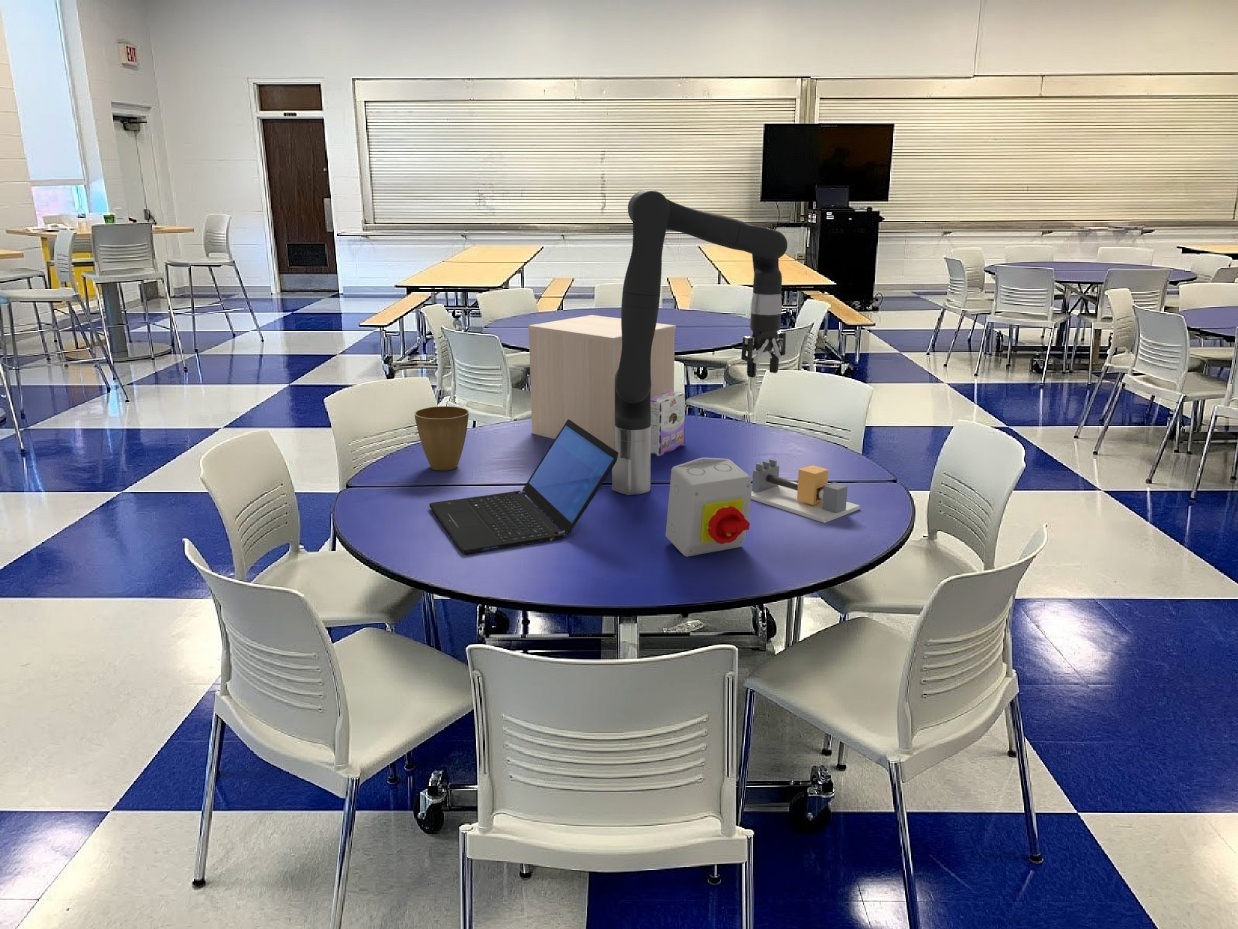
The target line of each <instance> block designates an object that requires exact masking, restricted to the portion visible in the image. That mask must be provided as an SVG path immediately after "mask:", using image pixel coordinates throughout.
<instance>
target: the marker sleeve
mask: <svg viewBox="0 0 1238 929" xmlns="http://www.w3.org/2000/svg"><path fill="white" fill-rule="evenodd" d="M797 475H798V476H797V483H798V490H797V500H798V501H801V502H805V503H808V504H811V505H815V504H818V503H821V502H823V499H820V498H819V497H816V494H817V489H821V490H822V489H824V486H825V485H828V484H829V483H828V482H829V480H828V479H829V469H828V468H825V467H820V466H817V465H813V464H812V465H808V466H804V467H801V468H798V474H797Z"/></svg>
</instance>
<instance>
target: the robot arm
mask: <svg viewBox="0 0 1238 929" xmlns="http://www.w3.org/2000/svg"><path fill="white" fill-rule="evenodd" d="M627 213H628V217H629V218H630V220H631V222H632V246H631V247H632V248H631V253H630V257H629V258H630V259H629V261H628V264H627V268H626V273H625V276H624V281H623V286H622V296H621V307H620V312H621V313H620V316H621V317H620V319H621V330H622V351H621V358H620V363H619V369H618V370H617V372H616V374H615V451H617V452H618V453H619V454H618V458H617V461H616V463H615V465H614V466H613V468H612V469H611V478H612V479H611V482H612V483H611V484H612V485H611V490H612V491H614V492H618V493H620V494H622V495H625V496H630V495H631V496H632V495H642V494H646V493H648V492H650V490H651V468H652V467H651V456H652V454H651V349H652V342H653V338H654V333H655V328H656V323H658V317H659V316H658V315H659V310H660V309H659V308H660V301H661V300H660V299H661V288H662V286H661V285H662V269H663V267H662V266H663V262H662V259H663V249H664V243H665V237H666V233H667V230H668V231H674V232H678V233H682V234H685V235H687V236H691V237H693V238H696V239H699V240H702V241H705V242H708V243H711V244H713V245H717V246H720V247H722V248H723V247H724V248H728V249H731V250H736V251H741V252H744V253H745V252H746V253H748V254H751V255H752V256H751V257H752V258H751V259H752V266H753V268H752V269H753V281H752V286H753V287H752V298H751V304H750V322H749V324H750V325H749V329H750V330H751V331H752V334H751V336H745V335H744V336H743V338H742V344H741V356H740V357H741V360H742V361H744V362H746V376H747V377H749V378H752V379H754V378H756V376H757V375H756V374H757V361H758V359H759V357H761V356H762V354H763V353H766V352H768V354H769V356H770V358H769V373H771V374H777V373H778V371H779V365H780V364H779V363H780V362H779V361H780V359H781V358H782V356H785V355H786V342H787V341H786V339H787V333H786V332H784V331H780V330H781V322H782V321H781V318H782V305H783V304H782V301H783V300H782V287H783V286H782V285H783V284H782V283H783V275H782V271H780V267H779V264H780V263H779V260H780V259H781V257H783V256H784V255H785V253H786V252H787V250H788V240H787V238H786V236H785V235H784V234H783V233H782V232H781V231H778V230H775V229H771V228H767V227H762V226H759V225H753V224H751V223H748V222H745V221H743V220H740V219H738V218H737V219H736V218H733V217H729V216H727V215H722V214H717V213H715V212H709V211H705V210H700V209H696V208H692V207H689V206H685V205H683V204H679V203H677V202H674V201H672V200H671V199H668V198H667V197H666V196H665V195H664V194H663V193H661V192H660V191H657V190H655V189H641V190H639V191H637V192H635V193H634V194H633V195H632V196H631V198H630V199H629V201H628V204H627Z"/></svg>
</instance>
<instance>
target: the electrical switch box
mask: <svg viewBox="0 0 1238 929" xmlns="http://www.w3.org/2000/svg"><path fill="white" fill-rule="evenodd" d="M751 478H752V477H751V476H750V475H749V474H748V473H747V472H746V471H745V470H743V469H742V468H741V467H739V465H737V464H736V463H734V462H733V461H732V460H730V459H729V458H718V457H717V458H716V457H700V458H696V459H693V460H690V461H687V462H684V463H680V464H678V465H674V466H672V468H671V472H670V481H669V483H670V484H669V493H668V503H667V505H668V506H667V515H666V524H665V526H666V527H665V537H666V539H668V540H669V541H670V543H672V545H673V546H674V547H675V548H676V549H677V550H678V551H679V552H680V554H682V555H683V556H684V557H686V558H688V557H693V556H698V555H703V554H710V553H715V552H720V551H725V550H726V551H727V550H731V549H738V548H741V547H742V545H743V543H744V541H745V539H746V536H747V531H748V530H750V525H751V523H750V522H749V515H750V510H751V509H750V507H751V502H752V501H751V500H752V499H751V493H752V480H751Z"/></svg>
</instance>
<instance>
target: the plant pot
mask: <svg viewBox="0 0 1238 929" xmlns="http://www.w3.org/2000/svg"><path fill="white" fill-rule="evenodd" d="M469 414H470V411H469V409H467V408H464V407H460V406H450V405H446V406H445V405H442V406H430V407H424V408H420V409H418V410H416V411H415V412H414V415H413V416H414V420H415V425H416V429H417V433H418V437H419V440H420V443H421V447H422V449H423V452H424V455H425V457H426V460H427V463H428V464H429V466H430V469H431V470H434V471H451V470H455V469H456V468H458V467H459V466H458V465H459V464H460V463H459V462H460V461H461V460H460V459H461V457H462V453H463V451H464V446H465V441H466V436H467V431H468V426H469V425H468V424H469V417H470V416H469Z"/></svg>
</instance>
